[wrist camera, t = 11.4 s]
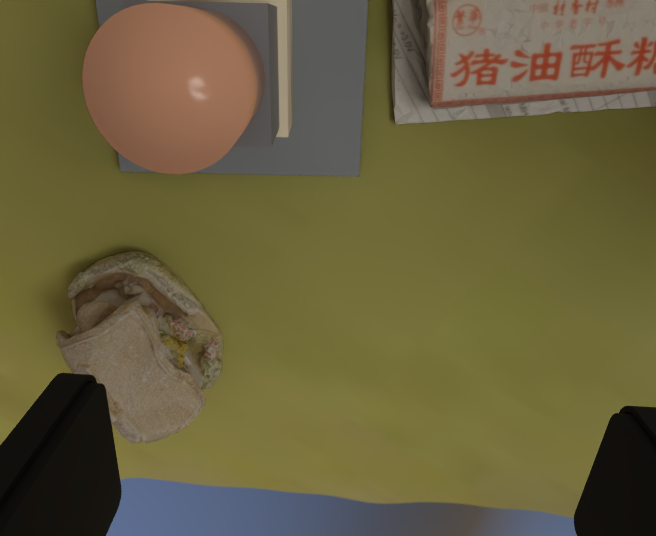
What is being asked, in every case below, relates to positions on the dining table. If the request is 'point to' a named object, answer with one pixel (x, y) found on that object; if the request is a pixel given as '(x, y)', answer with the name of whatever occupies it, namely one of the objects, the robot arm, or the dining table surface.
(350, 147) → the slate mat
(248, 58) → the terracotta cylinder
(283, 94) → the birch block
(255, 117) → the charcoal block
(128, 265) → the stuffed bread roll
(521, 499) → the dining table surface
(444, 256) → the dining table surface
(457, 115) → the packaged product
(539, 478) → the dining table surface
